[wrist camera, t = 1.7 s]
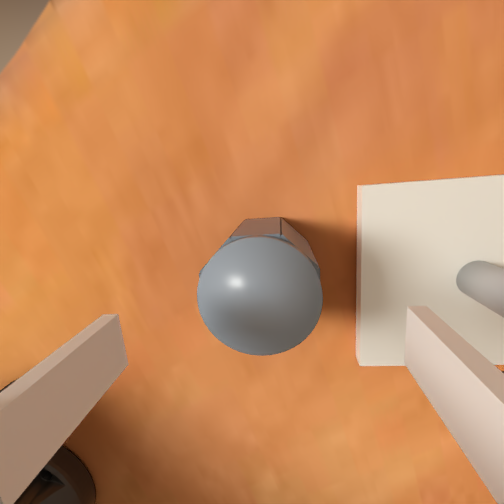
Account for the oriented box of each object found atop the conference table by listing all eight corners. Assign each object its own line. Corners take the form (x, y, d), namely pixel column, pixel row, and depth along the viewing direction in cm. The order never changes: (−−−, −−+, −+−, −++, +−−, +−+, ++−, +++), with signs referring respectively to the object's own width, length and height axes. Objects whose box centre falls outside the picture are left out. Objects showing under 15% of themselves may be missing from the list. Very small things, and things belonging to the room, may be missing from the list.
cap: (228, 300, 27) (204, 356, 19) (220, 220, 26) (189, 241, 17) (309, 297, 27) (323, 354, 18) (306, 215, 25) (321, 234, 16)
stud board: (355, 356, 28) (383, 419, 20) (357, 185, 24) (391, 187, 17) (564, 353, 26) (676, 421, 18) (601, 167, 22) (761, 160, 15)
